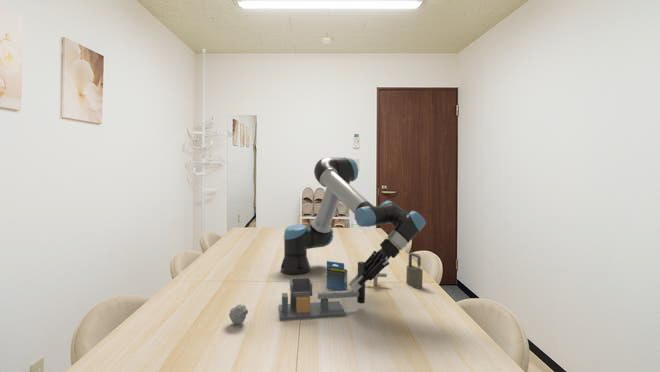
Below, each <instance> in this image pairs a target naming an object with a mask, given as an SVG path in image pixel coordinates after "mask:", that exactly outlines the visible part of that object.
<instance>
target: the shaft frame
mask: <svg viewBox="0 0 660 372" xmlns="http://www.w3.org/2000/svg"><path fill="white" fill-rule="evenodd" d="M289 291H290V295H288V293H287V292H284V293H282V292H281V304H278V311H279V313H280V314H279V321H292V320H296V321H297V320H306V319H307V320H308V319H309V320H310V319H321V318H325V319H326V318H335V317H336V318H337V317H346V316H347V313H346V311H345V309H344V307H343V306H342V304H341V302H340V300H333V301H332V300H331V301H329V299H320V301H319V302H317V301H316V302H310V312H299V313H297V311H296V297H302V296H310V297H312V296H313V282H312V280H311V277H309V276H308V277H307V276H306V277H291V278H289ZM289 296H290V303H289Z"/></svg>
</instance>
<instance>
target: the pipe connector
mask: <svg viewBox="0 0 660 372" xmlns="http://www.w3.org/2000/svg"><path fill="white" fill-rule="evenodd" d="M378 277H379V278H387V277H388V275H387V273H385V272H379V273H378V274H377V275H376V276H375V277H374V278H373V279H372V280H373V286H374V287H377V286H378V283H379V282H378V281H379V280H378V279H379V278H378Z"/></svg>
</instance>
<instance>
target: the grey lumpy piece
mask: <svg viewBox="0 0 660 372" xmlns="http://www.w3.org/2000/svg"><path fill="white" fill-rule="evenodd" d="M248 314H249V310H248V308H246V304H237V305H236V306H235V307H232V308H230V310H229V314H228V316H229V319H230V321H231V323H233V324H234V325H236V326H238V325H242V324H243V323H244V322H245V320H246V318H247V317H246V316H247V315H248Z"/></svg>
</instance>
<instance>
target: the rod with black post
mask: <svg viewBox="0 0 660 372" xmlns="http://www.w3.org/2000/svg"><path fill="white" fill-rule="evenodd" d="M365 262H366V261H358V262H357V274H358V279H359V278H360V276H361V275H362V273H363V274H365V266H366V263H365ZM362 276H363V275H362ZM344 298H356V301H357V304H365V303H366V282H365V283H364V284H363V285H362V286H361V287H360V288H359V289H358V290H357V292H356V293H355V292H354V291H353V290H352V289H349V290H347V289H346V290H331V291H329V290H328V291H317V300H321V299H328V300H329V299H344Z"/></svg>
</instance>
